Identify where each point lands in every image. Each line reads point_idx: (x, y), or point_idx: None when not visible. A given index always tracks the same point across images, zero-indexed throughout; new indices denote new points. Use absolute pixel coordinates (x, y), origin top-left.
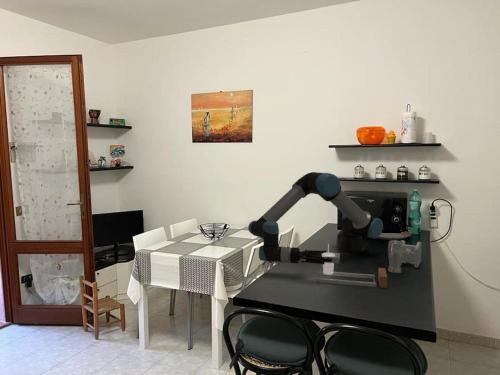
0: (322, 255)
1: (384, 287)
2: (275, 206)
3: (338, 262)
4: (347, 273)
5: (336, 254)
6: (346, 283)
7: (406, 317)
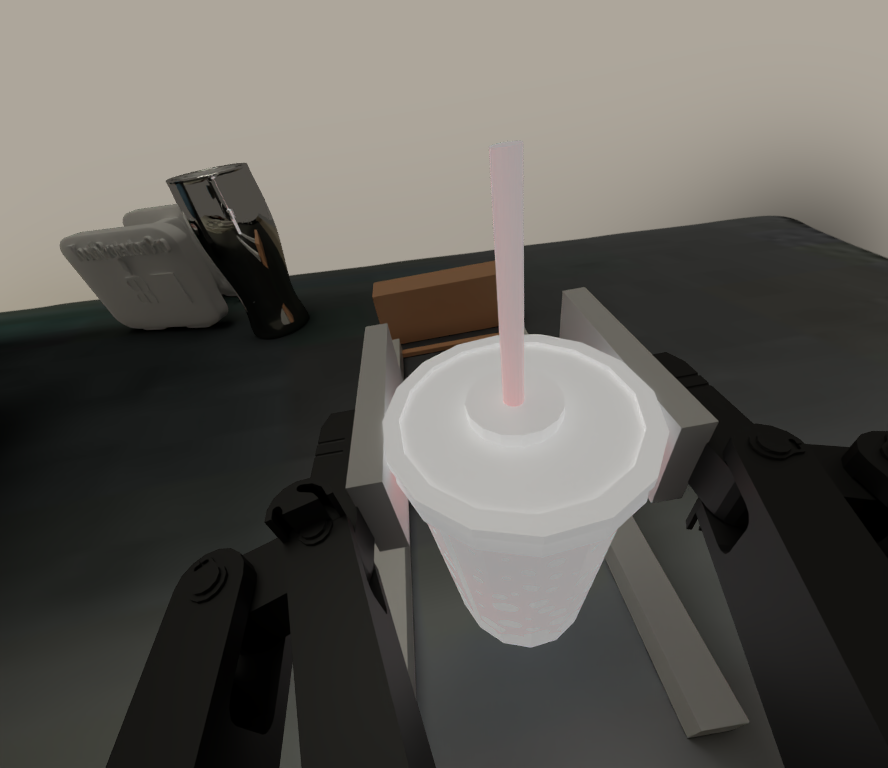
0: (637, 501)
1: None
2: None
3: None
4: None
5: (391, 361)
6: None
7: (750, 243)
